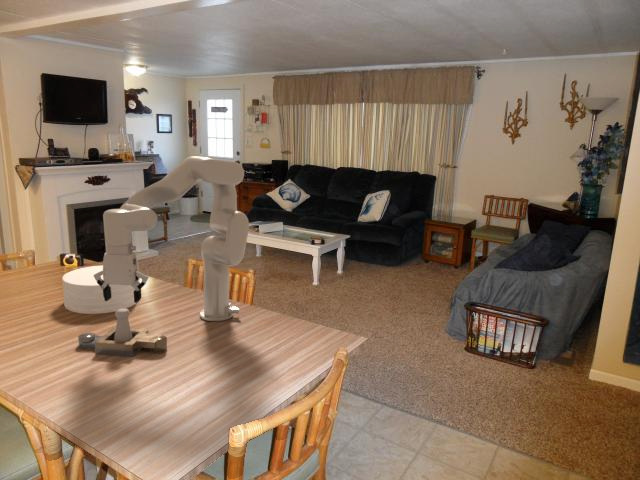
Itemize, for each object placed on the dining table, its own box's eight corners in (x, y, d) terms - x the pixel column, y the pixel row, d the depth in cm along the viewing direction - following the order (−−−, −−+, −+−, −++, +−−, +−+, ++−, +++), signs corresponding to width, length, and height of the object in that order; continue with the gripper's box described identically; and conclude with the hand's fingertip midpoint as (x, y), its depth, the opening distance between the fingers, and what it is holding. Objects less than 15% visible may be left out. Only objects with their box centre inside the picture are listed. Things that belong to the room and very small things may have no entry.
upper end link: (173, 342, 159) (173, 331, 158) (159, 358, 147) (158, 347, 147) (114, 338, 160) (113, 327, 159) (95, 354, 149) (94, 342, 148)
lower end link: (148, 340, 160) (148, 332, 159) (132, 356, 148) (132, 348, 147) (89, 336, 161) (89, 328, 160) (69, 352, 149) (68, 343, 148)
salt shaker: (114, 352, 150) (112, 313, 148) (113, 344, 155) (111, 307, 152) (134, 349, 153) (132, 311, 150) (132, 342, 158) (130, 305, 155)
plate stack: (153, 300, 198) (153, 273, 195) (90, 319, 175) (89, 290, 172) (113, 286, 212) (111, 261, 210) (50, 302, 189) (47, 275, 187)
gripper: (151, 247, 150) (153, 297, 154) (98, 244, 151) (102, 294, 155) (140, 253, 143) (144, 306, 147) (85, 250, 144) (90, 303, 148)
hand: (122, 300), depth 151 cm, fingers open, 9 cm apart
